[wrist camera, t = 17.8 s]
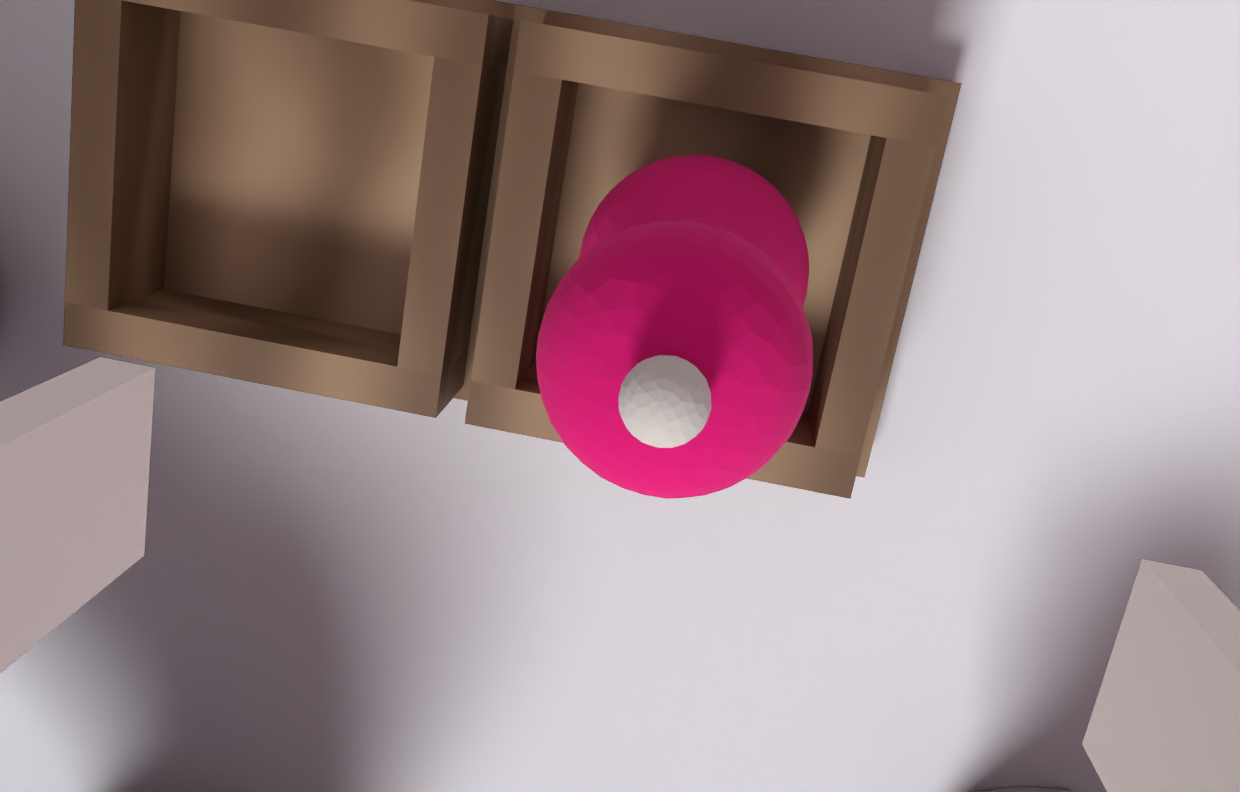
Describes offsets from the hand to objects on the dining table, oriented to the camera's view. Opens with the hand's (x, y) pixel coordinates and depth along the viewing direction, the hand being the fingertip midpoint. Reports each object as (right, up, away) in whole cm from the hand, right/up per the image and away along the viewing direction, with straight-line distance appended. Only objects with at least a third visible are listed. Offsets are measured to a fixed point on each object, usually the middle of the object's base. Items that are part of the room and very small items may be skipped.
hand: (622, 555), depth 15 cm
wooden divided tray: (-4, +9, +27) cm, 29 cm away
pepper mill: (+3, +7, +25) cm, 26 cm away
